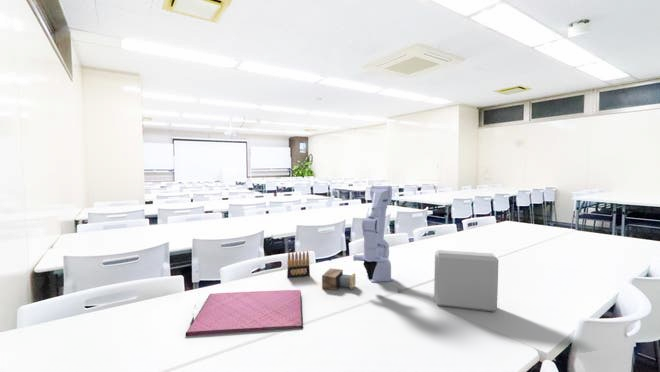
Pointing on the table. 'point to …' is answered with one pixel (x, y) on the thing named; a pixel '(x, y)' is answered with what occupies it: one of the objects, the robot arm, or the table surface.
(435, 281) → the bevelled white case
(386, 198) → the robot arm
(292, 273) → the ammunition clip
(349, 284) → the peg
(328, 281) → the collar block
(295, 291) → the laptop bag
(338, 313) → the table surface
